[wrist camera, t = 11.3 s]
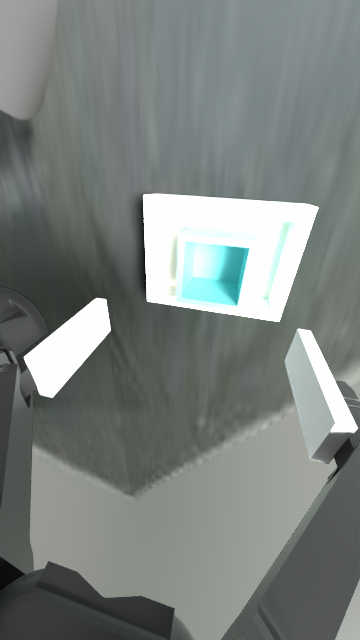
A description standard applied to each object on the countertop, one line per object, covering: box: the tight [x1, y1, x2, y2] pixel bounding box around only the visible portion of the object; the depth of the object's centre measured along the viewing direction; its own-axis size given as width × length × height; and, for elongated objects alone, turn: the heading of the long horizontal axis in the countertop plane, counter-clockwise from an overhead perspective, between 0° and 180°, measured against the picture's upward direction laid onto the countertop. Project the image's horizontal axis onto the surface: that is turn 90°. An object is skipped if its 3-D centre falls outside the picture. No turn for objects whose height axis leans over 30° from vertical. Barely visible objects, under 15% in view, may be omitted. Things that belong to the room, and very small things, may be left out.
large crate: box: [143, 193, 318, 322], centre depth 30 cm, size 19×14×4 cm
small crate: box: [176, 222, 259, 312], centre depth 28 cm, size 8×8×8 cm
